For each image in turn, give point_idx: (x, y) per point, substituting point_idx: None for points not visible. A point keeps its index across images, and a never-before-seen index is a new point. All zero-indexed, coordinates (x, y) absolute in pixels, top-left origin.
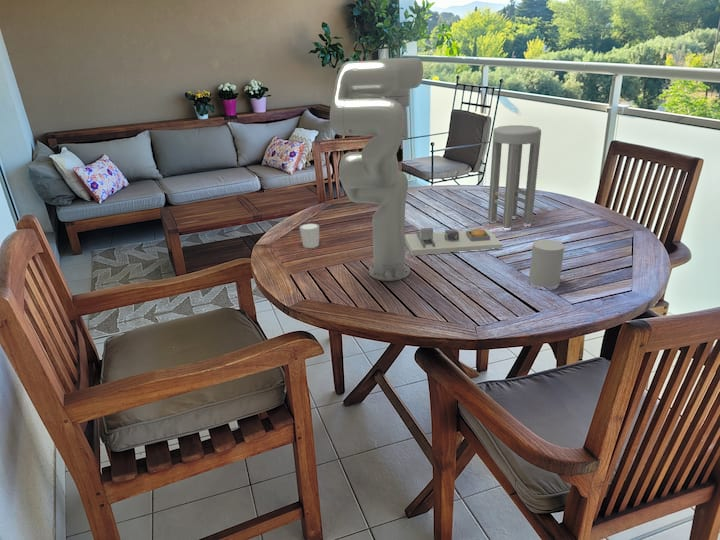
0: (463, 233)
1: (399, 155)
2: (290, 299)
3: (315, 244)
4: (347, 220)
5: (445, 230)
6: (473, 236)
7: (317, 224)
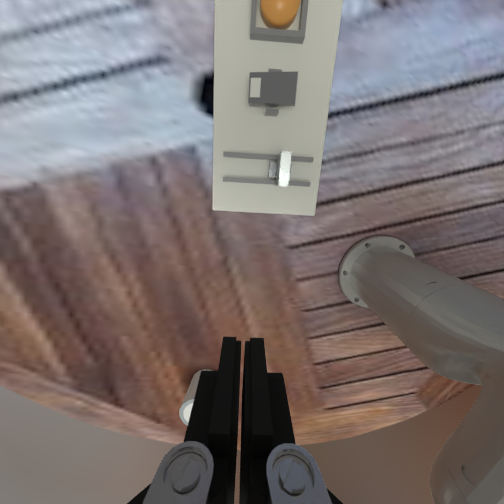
0: (237, 43)
1: (284, 403)
2: (407, 408)
3: None
4: (63, 309)
5: (251, 103)
6: (288, 24)
7: (188, 400)
